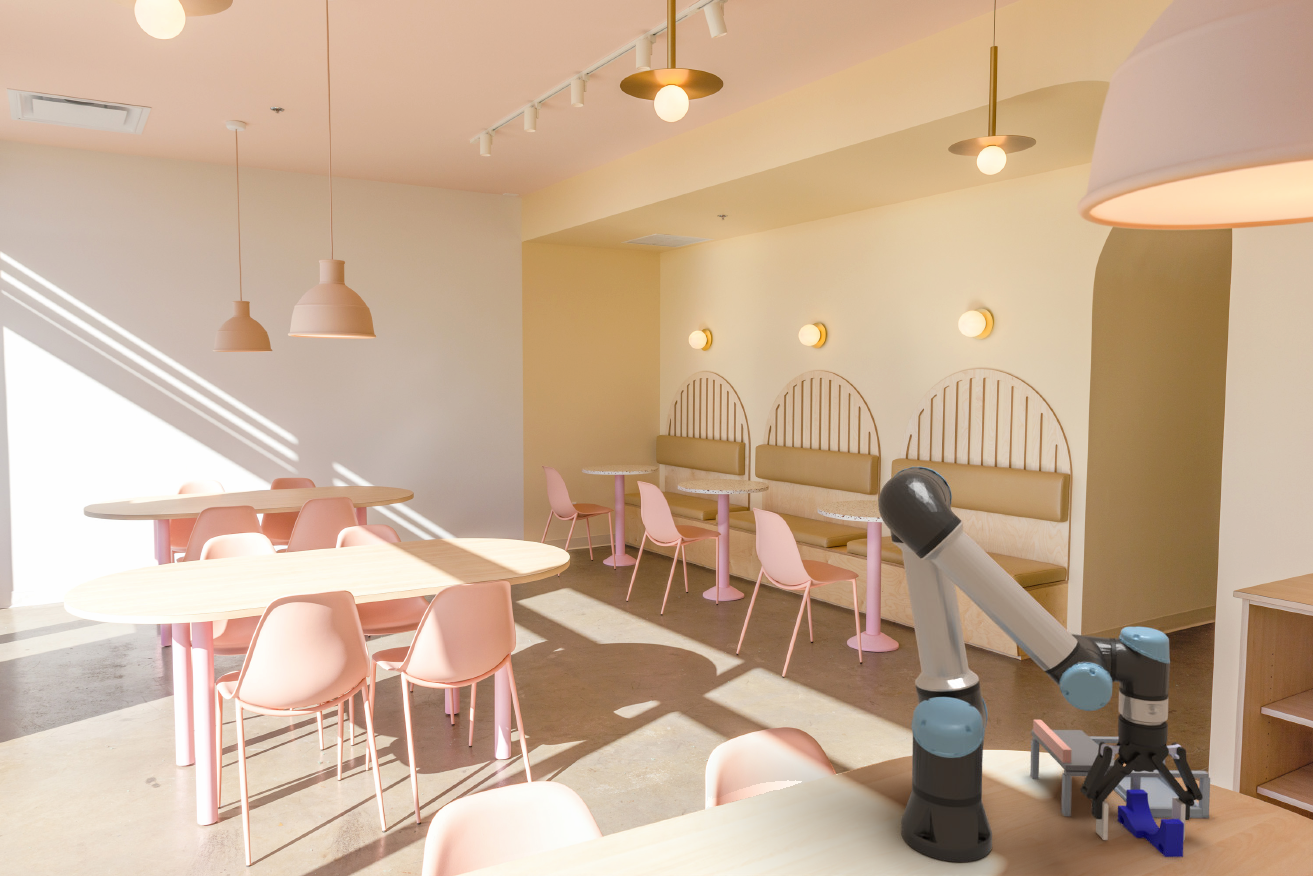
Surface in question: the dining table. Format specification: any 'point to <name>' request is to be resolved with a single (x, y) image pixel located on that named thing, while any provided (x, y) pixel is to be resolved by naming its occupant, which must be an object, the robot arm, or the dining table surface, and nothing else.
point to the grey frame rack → (1134, 785)
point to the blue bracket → (1151, 824)
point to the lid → (1067, 747)
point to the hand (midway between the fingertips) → (1139, 836)
